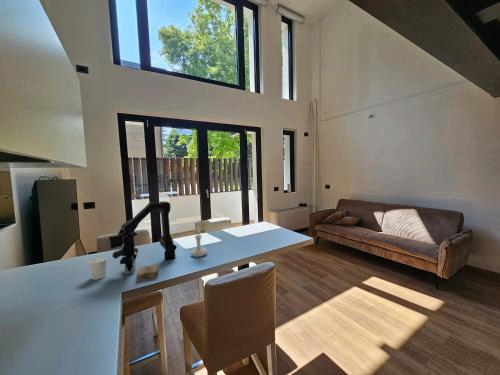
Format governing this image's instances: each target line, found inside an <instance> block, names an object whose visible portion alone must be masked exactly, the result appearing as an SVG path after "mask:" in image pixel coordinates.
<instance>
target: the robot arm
mask: <svg viewBox="0 0 500 375" xmlns="http://www.w3.org/2000/svg"><path fill="white" fill-rule="evenodd" d="M153 210H158V212H159V214H160V217H161V218H160V220H161V232H162V236H161V238H159V245H160V246H161V247H162V248H163V249H164V260H165V261H168V260H175V259H176V257H177V256H176V250H177V248H178V246H177V245H176V244H174V241H173V238H172V236H171V231H170V219H169V218H170V217H169V215H170V212H171V203H170V202H169V201H165V200H163V201H159V202H149V203H147V205H146V206H144V207H143V208H142V209H141V210H140V211H139V212H138V213H137V214H136V215H135V216H133V217H132V218H131V219H129V220H127V221H126V222H124V223H123V224H121V226H120V230H119V231H118V232H117V235H111V236H108V238H107V239H108V240H107V242H106V243H107V247H108V249H109V250H110V249H111V250H112V249H114V248H119V247H122V246H123V247H122V248H120V249H118V250H116V251H114V252H112V258H114V259H115V260H117V259H118V258H120V257H121V259H120V260H119V265H125V264H126V267H127V269H128V271H131V269H132V266H133V263H134V261H136V259H137V257H138V254H139V249H138V247H136V243H135V237H136V236H138V234H139V233H136V232H135V230H136V229H137V228H138V226H139V224H141V223H140V222H142V221H143V219H145V218H146V217H147V216H148V215H150V213H151V212H153Z"/></svg>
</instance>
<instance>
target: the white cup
mask: <svg viewBox="0 0 500 375" xmlns="http://www.w3.org/2000/svg"><path fill="white" fill-rule="evenodd" d="M88 265H89V270H90V277H91V279H92V280H95V281H97V280H101V279H104V278H106V276H107V257H103V256H102V257H97V258H92V259H91V260H89V261H88Z"/></svg>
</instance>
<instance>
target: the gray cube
mask: <svg viewBox="0 0 500 375" xmlns="http://www.w3.org/2000/svg"><path fill="white" fill-rule="evenodd" d="M136 271H137V261H136V260H135V261H134V263H133V266H132V269H131V271H128V269H127V267H126V264H124V275H128V274H133V273H136Z"/></svg>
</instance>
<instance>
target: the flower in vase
mask: <svg viewBox="0 0 500 375" xmlns="http://www.w3.org/2000/svg"><path fill="white" fill-rule="evenodd" d="M198 226H199V228H200V229H199V230H200V231H199V232H195V234H197V235H195V236H194V238H195V239H196V246H195V247H194V249H192V250H191V252H190V256H192V257H199V258H200V257H203V256H205V255H206V254H208V251H207V249H206V248H205V247H202V246H201V239H202V235H201V234H204V233H206V230H207V229H209V228H208V226H209V225H208V223H207V221H205V220H204V219H200V220H199V221H198Z"/></svg>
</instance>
